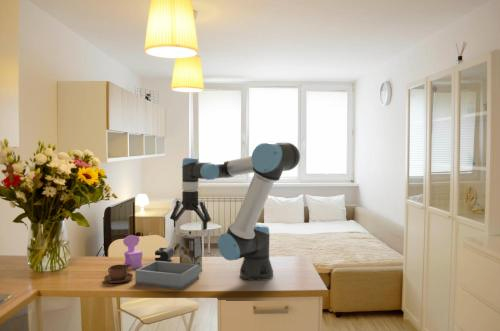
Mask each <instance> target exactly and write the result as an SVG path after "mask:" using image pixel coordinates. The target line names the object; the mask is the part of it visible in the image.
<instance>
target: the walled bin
mask: <svg viewBox="0 0 500 331" xmlns="http://www.w3.org/2000/svg"><path fill="white" fill-rule="evenodd" d="M134 270H135V272H134V273H135V275H134V277H135V281H134V282H135V283H134V284H135V285H137V286H138V285H140V286H147V287H158V288H165V289H172V290H173V289H175V290H183V289H185V288H186V287H188V286H190V285H191V284H192V283H194V282H196V281H198V280H199V279H200V278H199V277H200V271H199V265H194V264H184V263H180V262H174V261H173V262H171V261H167V262H163V261H155V260H154V261H152V262H150V263H148V264H146V265H144V266H143V265H142V267H140V268H136V269H134Z"/></svg>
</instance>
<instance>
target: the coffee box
mask: <svg viewBox="0 0 500 331" xmlns="http://www.w3.org/2000/svg"><path fill="white" fill-rule="evenodd" d="M202 238H203V237H201V235H200V236H198V235H190V234H186V235H183V236H179V238H178V240H179V263H184V264H194V265H199V272H200V271H202V270H203V256H202V255H203V254H202V253H203V252H202V250H203V246H202V245H203V240H202Z"/></svg>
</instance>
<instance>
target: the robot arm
mask: <svg viewBox="0 0 500 331" xmlns="http://www.w3.org/2000/svg"><path fill="white" fill-rule="evenodd" d="M251 153H252V154H251V155H250V156H246V157H245V156H244V157H241V158H237V159H232V160H227V161H220V162H218V161H217V162H216V161H215V162H200V161H199V158H197V157H184V158H183V159H182V162H181V163H182V166H181V168H182V172H181V173H182V175H181V177H182V179H181V180H182V182H181V184H182V185H181V186H182V192H181V196H182V200H181V199H178V200H176V201H175V206H174V208H173V210H172V213H171V215H170V217H169V218H170V220H172V221H173V227H174V228H175V235H176V236H178V235H180V234H181V231H180V228H181V227H180V225H181V224H180V223H181V222H180V220H179V219H180V217H182V215H183V214H184V213H185V211H190V212H191V211H193V212H195V213H196V215H197V216H198V218H199V220H200V221H202V222H201V223H200V224H201V227H200V228H201V235H200V237H202V238H204V237H206V230H207V229H208V222H211V221H212V218H211V217H210V214H209V212H208V210H207V207H206V204H205V201H204V200H202V201H199V179H200V180H207V181H209V180H210V181H211V180H215V179H230V178H233V177H236V176H237V177H238V176H241V175H248V174H253V176H252V179H251V181H250V183H249V186H248V188H247V191H246V194H245V196H244V198H243V200H242V204H241V206H240V208H239V211H238V213H237V214H236V218H235V220H234V221H233V222H231V223H230V224H229V226H228V228H227V231H226V232H224V233H222V234H220V235H219V237H218V238H217V239H218V240H217V248H218V251H219V253H220V255H221V256H222V258H224V259H225V260H227V261H237V260H239V259H242V258H243V260H242V262H241V266H240V269H239V276H240V278H242V279H243V280H247V281H248V280H249V281H265V280H269V279H272V278H273V276H274V269H273V266H272V263H271V259H270V228H269V227H268V226H266V225H263V224H257V223H258V220H259V218H260V216H261V213H262V211H263V209H264V206H265V204H266V202H267V199H268V197H269V196H270V195H269V194H270V192H271V189H272V187H273V185H274V183H275V182H278V181H280V178H281V176H282V174H283V172H287V171H291V170H293V169H295V168H296V167H297V166H298V165H299V163H300V159H301V154H300V151H299V149H298V147H297V146H296V145H294V144H293V143H291V142H288V141H287V142H283V141H282V142H276V141H265V142H261V143H260V144H258V145H256V147H255V148H254V149H253V151H252V152H251ZM181 205H182V207H181ZM199 206H200V207H199ZM180 207H181V208H180Z"/></svg>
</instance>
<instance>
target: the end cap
mask: <svg viewBox="0 0 500 331" xmlns="http://www.w3.org/2000/svg"><path fill="white" fill-rule="evenodd" d="M174 255H175V250H174V248H173V247H171V246H167V247H160V248H158V249H157V250H155V252H154V256H159V257H154V261H163V262H169V260H171V259H172V258H173V257H174Z"/></svg>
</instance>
